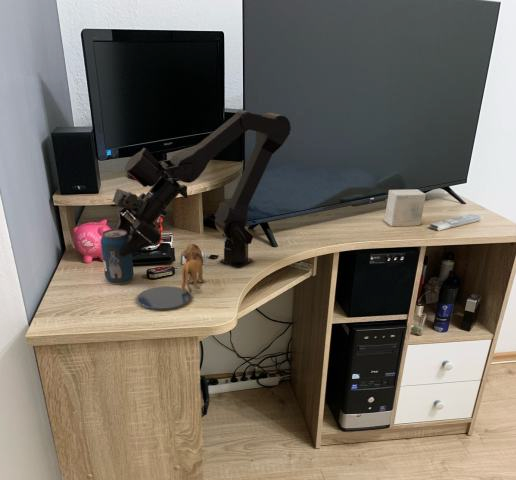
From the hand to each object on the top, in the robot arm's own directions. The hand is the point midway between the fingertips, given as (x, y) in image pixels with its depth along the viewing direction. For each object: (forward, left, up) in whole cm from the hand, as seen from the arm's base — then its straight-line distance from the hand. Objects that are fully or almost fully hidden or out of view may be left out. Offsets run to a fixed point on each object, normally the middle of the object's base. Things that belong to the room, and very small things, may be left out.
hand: (116, 249), depth 130 cm
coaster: (+1, +17, -8) cm, 18 cm away
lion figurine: (-8, +16, -8) cm, 20 cm away
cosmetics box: (-91, +34, -8) cm, 98 cm away
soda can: (0, 0, -8) cm, 8 cm away
